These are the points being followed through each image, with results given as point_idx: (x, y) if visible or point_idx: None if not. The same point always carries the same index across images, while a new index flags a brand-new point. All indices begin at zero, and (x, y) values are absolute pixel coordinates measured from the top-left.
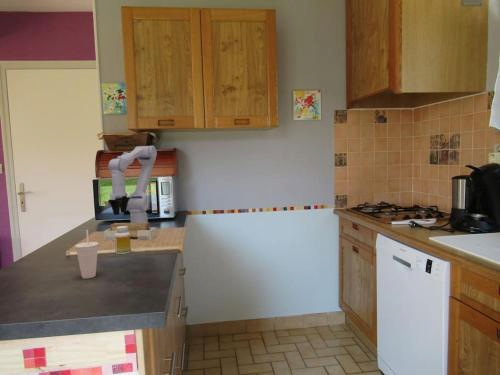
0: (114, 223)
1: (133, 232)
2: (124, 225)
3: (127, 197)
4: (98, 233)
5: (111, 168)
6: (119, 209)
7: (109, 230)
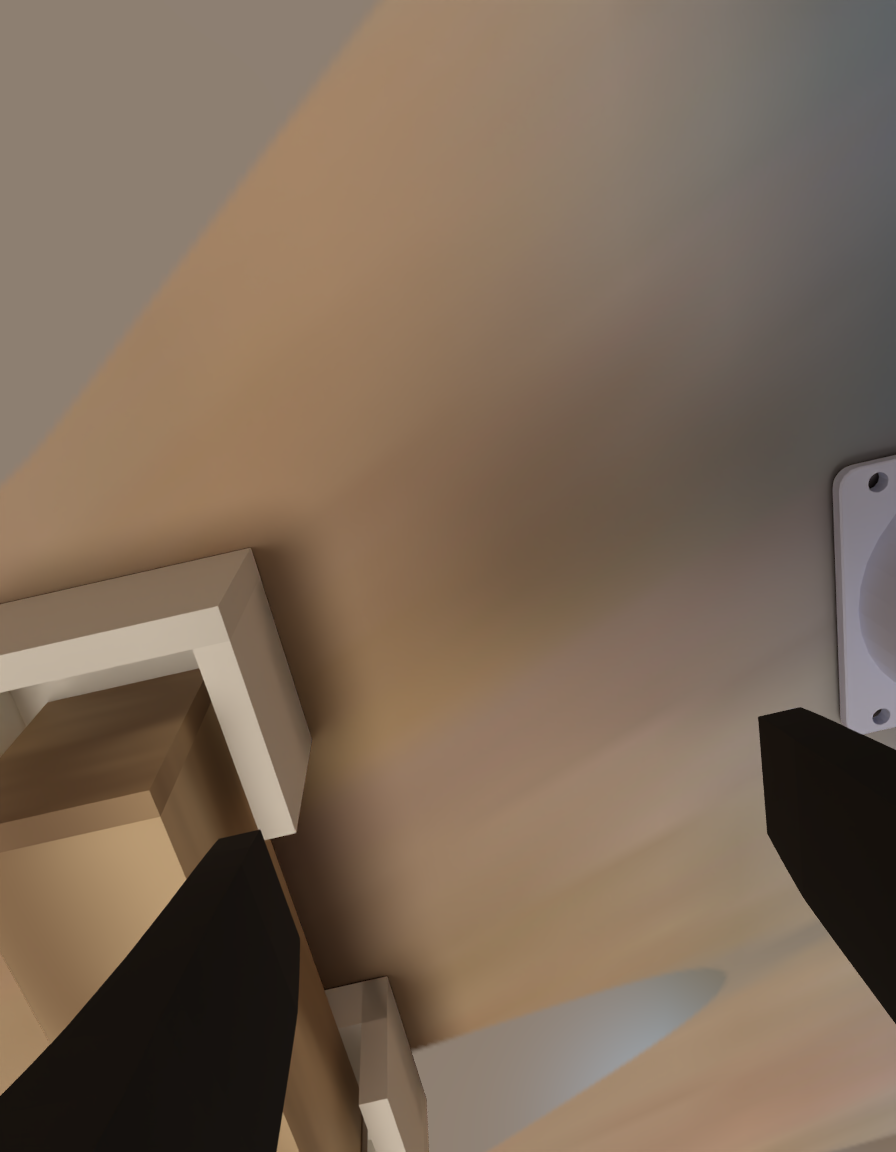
0: (90, 832)
1: None
2: None
3: None
4: (480, 8)
5: None
6: (261, 1137)
7: (71, 669)
